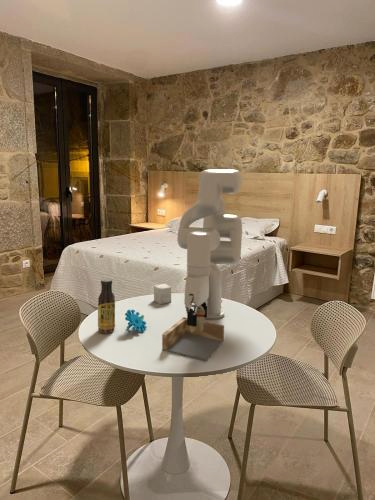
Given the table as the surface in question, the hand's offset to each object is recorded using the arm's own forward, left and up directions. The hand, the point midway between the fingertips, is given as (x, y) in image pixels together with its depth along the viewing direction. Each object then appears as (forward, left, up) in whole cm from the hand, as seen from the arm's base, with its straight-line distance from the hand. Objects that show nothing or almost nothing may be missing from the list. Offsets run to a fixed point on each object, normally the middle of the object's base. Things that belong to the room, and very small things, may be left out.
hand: (197, 320), depth 123 cm
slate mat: (-2, -2, -11) cm, 11 cm away
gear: (-4, -27, -11) cm, 29 cm away
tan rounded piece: (+1, 0, -3) cm, 3 cm away
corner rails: (-2, -2, -11) cm, 11 cm away
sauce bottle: (+2, -36, -11) cm, 38 cm away
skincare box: (-35, -33, -11) cm, 49 cm away
